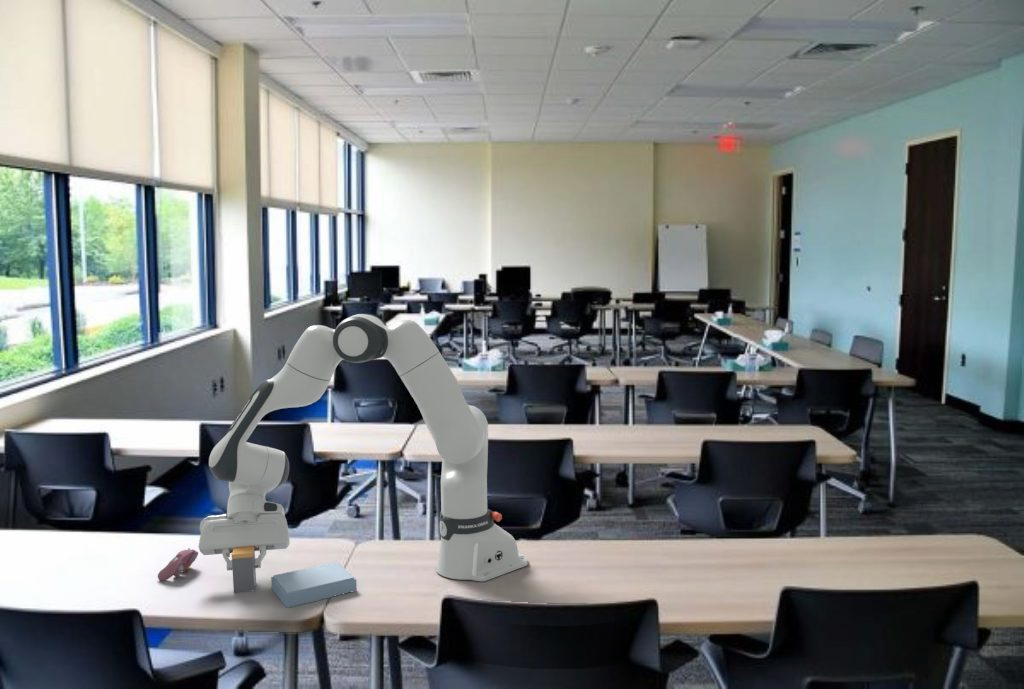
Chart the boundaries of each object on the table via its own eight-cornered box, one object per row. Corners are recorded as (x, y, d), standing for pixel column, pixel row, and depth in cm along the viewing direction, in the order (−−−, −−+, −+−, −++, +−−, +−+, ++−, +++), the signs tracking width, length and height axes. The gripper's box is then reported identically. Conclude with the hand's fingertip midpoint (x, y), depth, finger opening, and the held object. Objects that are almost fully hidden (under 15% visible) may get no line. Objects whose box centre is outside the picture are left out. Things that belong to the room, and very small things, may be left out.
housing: (236, 584, 194) (234, 547, 193) (256, 582, 195) (254, 545, 194) (233, 592, 190) (231, 554, 189) (254, 590, 191) (252, 552, 189)
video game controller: (170, 588, 196) (181, 564, 195) (154, 579, 197) (165, 554, 195) (194, 572, 206) (204, 548, 204) (178, 563, 206) (188, 539, 205)
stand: (338, 573, 200) (338, 560, 199) (356, 591, 190) (356, 577, 189) (271, 588, 191) (271, 575, 191) (286, 607, 181) (286, 593, 181)
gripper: (198, 510, 195) (193, 566, 187) (288, 504, 199) (288, 558, 191) (202, 522, 200) (198, 577, 191) (290, 516, 204) (290, 569, 195)
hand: (243, 568), depth 191 cm, fingers closed on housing, 4 cm apart
